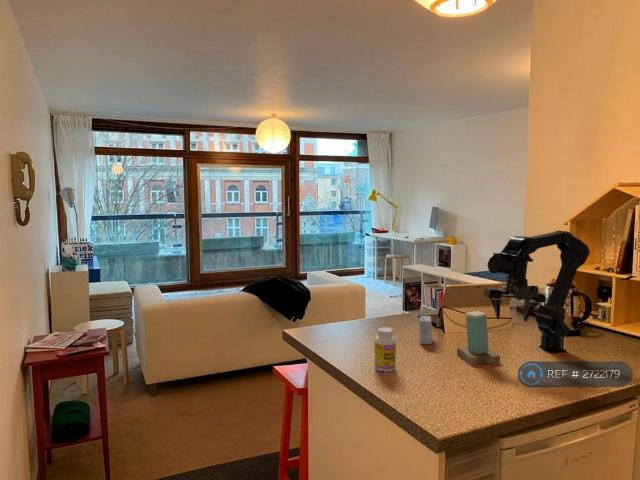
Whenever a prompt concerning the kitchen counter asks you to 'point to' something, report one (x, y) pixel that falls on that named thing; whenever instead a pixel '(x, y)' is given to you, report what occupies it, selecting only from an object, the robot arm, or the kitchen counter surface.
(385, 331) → the supplement bottle
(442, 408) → the kitchen counter surface
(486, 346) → the tea tin
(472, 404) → the kitchen counter surface
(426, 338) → the medicine box
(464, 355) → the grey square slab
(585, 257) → the robot arm
